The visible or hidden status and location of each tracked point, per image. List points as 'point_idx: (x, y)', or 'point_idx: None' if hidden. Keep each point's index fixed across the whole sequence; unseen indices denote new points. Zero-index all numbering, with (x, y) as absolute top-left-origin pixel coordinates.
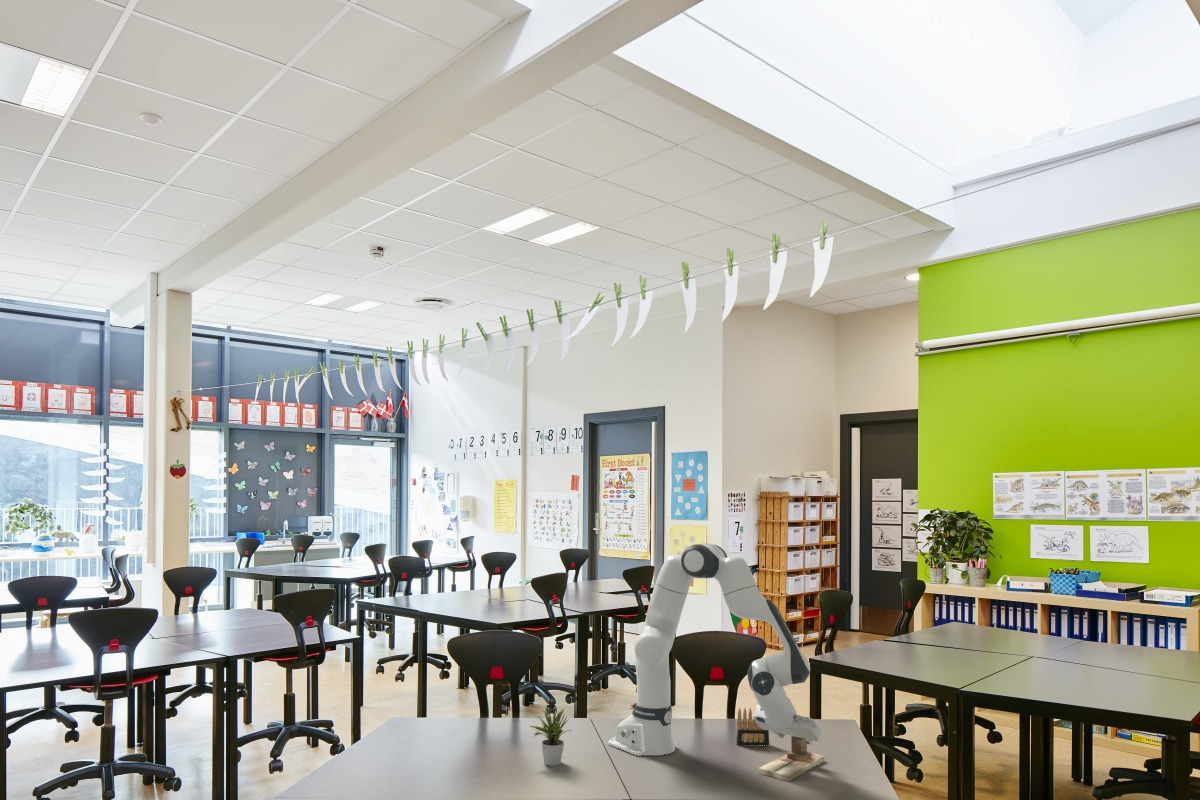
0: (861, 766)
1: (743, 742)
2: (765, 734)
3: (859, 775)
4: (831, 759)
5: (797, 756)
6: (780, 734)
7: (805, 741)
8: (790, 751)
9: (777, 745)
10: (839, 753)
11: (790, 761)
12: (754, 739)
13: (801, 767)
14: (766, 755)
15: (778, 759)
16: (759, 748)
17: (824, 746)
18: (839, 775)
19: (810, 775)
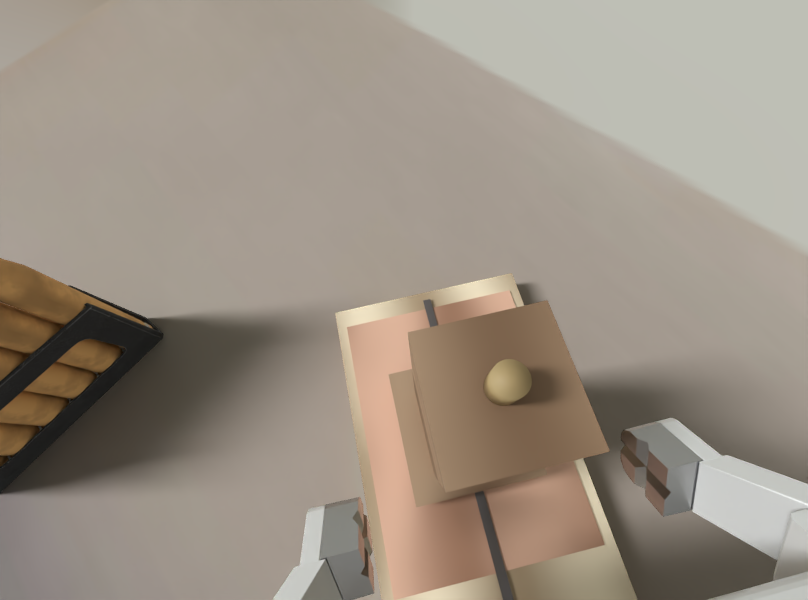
0: (649, 203)
1: (13, 461)
2: (94, 331)
3: (766, 308)
4: (503, 237)
5: (498, 484)
6: (353, 590)
7: (662, 511)
8: (409, 456)
9: (192, 289)
10: (460, 152)
11: (483, 549)
12: (58, 394)
13: (618, 588)
14: (237, 486)
15: (402, 596)
16: (138, 414)
17: (357, 136)
18: (733, 400)
19: (671, 568)
